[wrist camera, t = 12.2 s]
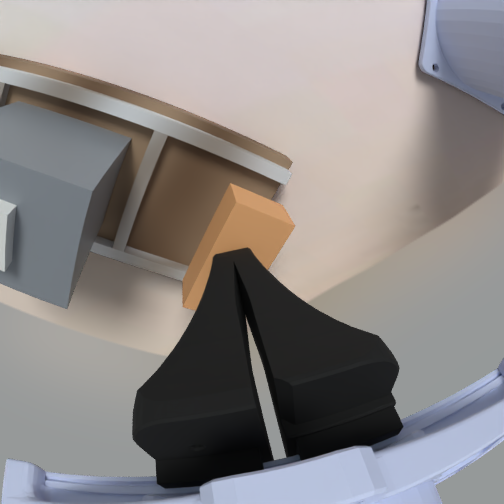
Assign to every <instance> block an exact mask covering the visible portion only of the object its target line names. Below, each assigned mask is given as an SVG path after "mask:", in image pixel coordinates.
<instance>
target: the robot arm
mask: <svg viewBox="0 0 504 504" xmlns="http://www.w3.org/2000/svg"><path fill="white" fill-rule="evenodd" d="M433 64H434V66H435V69H434V71H433V69H432V66H433ZM419 68H420V69H421V71H422V72H424V73H426V74H428V75H431V76H433V77H435V78H437V79H439V80H441V81H443V82H445V83H448V84H450V85H452V86H454V87H456V88H458V89H459V90H461V91H463V92H465V93H467V94H469V95H471V96H473V97H474V98H476V99H478V100H480V101H482V102H483V103H485V104H487V105H488V106H490V107H492V108H493V109H495V110H497V111H498V112H500V113H502V114H503V115H504V0H427V6H426V15H425V23H424V30H423V37H422V44H421V50H420V56H419ZM245 315H246V316H245ZM246 318H247V321H248V324H249V327H250V330H251V332H252V335H253V338H254V341H255V344H256V346H257V349H258V352H259V355H260V357H261V360H262V364H263V367H264V370H265V374H266V378H267V382H268V386H269V390H270V394H271V398H272V402H273V405H274V410H275V414H276V418H277V422H278V426H279V429H280V433H281V438H282V441H283V445H284V449H285V453H286V457H287V458H283V459H279V460H274V459H273V455H272V451H271V447H270V443H269V439H268V435H267V431H266V427H265V423H264V419H263V414H262V410H261V406H260V402H259V398H258V393H257V389H256V385H255V381H254V376H253V371H252V365H251V358H250V350H249V341H248V333H247V324H246ZM398 372H399V365H398V362H397V361H396V359H395V357H394V355H393V354H392V352H391V351H390V350H389V348H388V347H387V346H386V344H385V343H384V342H383V341H382V340H381V338H379V336H377V335H374V334H372V333H369V332H366V331H363V330H359V329H357V328H354V327H351V326H349V325H347V324H344V323H342V322H339V321H337V320H335V319H333V318H332V317H330V316H328V315H326V314H324V313H322V312H320V311H319V310H317V309H315V308H314V307H312V306H311V305H309V304H307V303H306V302H305V301H303V300H302V299H300V298H299V297H297V296H296V295H295V294H294V293H292V292H291V291H290V290H289V289H287V288H286V287H285V286H284V285H283V284H281V283H280V282H279V281H278V280H277V279H276V278H275V277H274V276H273V275H272V274H271V273H270V272H269V271H268V270H267V269H266V268H265V267H264V266H263V265H262V263H261V262H260V261H259V260H258V259H257V257H256V256H255V255H254V253H253V252H252V250H251V249H250V248H248V247H246V248H242V249H237V250H233V251H228V252H223V253H219V254H215V255H214V256H213V260H212V266H211V270H210V274H209V278H208V281H207V284H206V287H205V290H204V293H203V295H202V298H201V300H200V302H199V305H198V307H197V309H196V312H195V314H194V316H193V318H192V320H191V322H190V323H189V325H188V327H187V329H186V331H185V332H184V334H183V335H182V337H181V339H180V340H179V342H178V343H177V345H176V346H175V348H174V349H173V351H172V352H171V353H170V354H169V356H168V357H167V358H166V360H165V361H164V362H163V364H162V365H161V366H160V367H159V369H158V370H157V371H156V372H155V373H154V374H153V375H152V376H151V377H150V378H149V379H148V380H147V381H146V382H145V383H144V385H143V386H142V387H141V388H139V389H138V390H137V394H136V399H135V404H134V409H133V430H132V435H133V440H134V441H135V442H136V444H137V445H139V447H141V448H142V449H143V450H144V451H145V452H147V453H148V454H149V455H150V456H151V457H153V458H154V459H155V460H156V476H151V477H104V476H85V475H72V474H61V473H53V472H46V471H44V470H43V469H42V468H40V467H39V466H37V465H35V464H32V463H30V462H26V461H21V460H15V459H9V458H8V459H7V461H6V467H5V474H4V482H3V491H2V502H1V504H443V503H442V501H441V498H440V496H439V494H438V491H437V489H436V487H435V485H436V484H438V483H440V482H442V481H443V480H445V479H447V478H449V477H450V476H452V475H454V474H455V473H457V472H458V471H460V470H462V469H463V468H465V467H467V466H468V465H470V464H471V463H472V462H474V461H476V460H477V459H479V458H480V457H481V456H483V455H484V454H486V453H487V452H489V451H490V450H491V449H493V448H494V447H495V446H497V445H498V444H499V443H501V442H502V441H503V440H504V358H503V360H502V361H501V363H500V364H499V367H498V368H497V369H495V370H494V371H492V372H491V373H489V374H487V375H486V376H484V377H483V378H481V379H479V380H478V381H476V382H474V383H472V384H471V385H469V386H467V387H466V388H464V389H462V390H460V391H458V392H457V393H455V394H453V395H451V396H449V397H447V398H445V399H443V400H442V401H440V402H437V403H436V404H433V405H431V406H429V407H427V408H425V409H423V410H421V411H419V412H417V413H415V414H412V415H410V416H408V417H406V418H403V419H401V420H400V418H399V416H398V414H397V412H396V410H395V407H394V406H395V404H396V402H395V399H394V397H393V395H392V393H391V391H392V388H393V386H394V383H395V381H396V378H397V376H398Z"/></svg>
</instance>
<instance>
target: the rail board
mask: <svg viewBox="0 0 504 504" xmlns="http://www.w3.org/2000/svg"><path fill="white" fill-rule="evenodd" d="M18 101H20V102H24V103H27V104H31V105H34V106H37V107H41V108H44V109H47V110H50V111H53V112H56V113H60V114H63V115H66V116H69V117H72V118H75V119H78V120H81V121H84V122H87V123H90V124H93V125H96V126H99V127H101V128H104V129H107V130H110V131H113V132H116V133H118V134H121V135H124V136H127V137H129V138H132V139H131V141H130V144H129V146H128V149H127V152H126V154H125V157H124V160H123V162H122V165H121V168H120V171H119V174H118V176H117V179H116V182H115V185H114V188H113V191H112V194H111V197H110V200H109V204H108V207H107V210H106V213H105V217H104V220H103V223H102V226H101V228H100V230H99V232H98V234H97V236H96V239H95V241H94V243H93V245H92V248H91V250H90V252H93V253H96V254H99V255H102V256H105V257H108V258H111V259H114V260H117V261H120V262H123V263H126V264H129V265H132V266H135V267H139V268H142V269H145V270H148V271H151V272H154V273H157V274H161V275H164V276H167V277H170V278H174V279H177V280H180V281H183V278H184V276H185V274H186V272H187V269H188V267H189V265H190V263H191V261H192V259H193V257H194V255H195V253H196V251H197V249H198V246H199V244H200V242H201V240H202V238H203V236H204V234H205V232H206V230H207V228H208V226H209V224H210V222H211V220H212V218H213V216H214V214H215V212H216V210H217V208H218V206H219V204H220V202H221V200H222V198H223V196H224V194H225V192H226V190H227V188H228V186H229V185H230V183H231V184H234V185H236V186H239V187H241V188H244V189H246V190H248V191H251V192H253V193H255V194H258V195H260V196H262V197H265V198H267V199H269V200H271V199H272V197H273V196H274V194H275V192H276V191H277V189H278V187H279V185H280V184H281V183H282V184H284V185H286V184H287V182H288V180H289V179H290V177H291V175H292V173H291V172H290V171H289V168H290V166H291V165H292V163H293V162H292V161H291V160H290V159H289V158H288V157H287V156H285V155H283V154H281V153H279V152H277V151H275V150H273V149H271V148H269V147H267V146H265V145H263V144H261V143H258V142H256V141H254V140H252V139H250V138H248V137H246V136H243V135H241V134H239V133H237V132H235V131H232V130H230V129H228V128H226V127H223V126H221V125H219V124H216V123H214V122H212V121H209V120H207V119H205V118H202V117H200V116H197V115H195V114H193V113H190V112H188V111H185V110H183V109H180V108H178V107H175V106H173V105H170V104H167V103H165V102H162V101H159V100H157V99H154V98H151V97H149V96H146V95H143V94H140V93H138V92H135V91H132V90H129V89H126V88H123V87H120V86H117V85H114V84H111V83H108V82H105V81H102V80H99V79H95V78H92V77H89V76H86V75H82V74H79V73H75V72H72V71H68V70H65V69H61V68H57V67H53V66H50V65H46V64H42V63H38V62H33V61H29V60H25V59H20V58H16V57H11V56H6V55H1V54H0V107H3V106H6V105H9V104H11V103H14V102H18Z"/></svg>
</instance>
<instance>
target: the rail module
mask: <svg viewBox="0 0 504 504" xmlns="http://www.w3.org/2000/svg"><path fill="white" fill-rule="evenodd" d="M131 139H132V138H129V137H127V136H124V135H121V134H118V133H116V132H113V131H110V130H107V129H104V128H101V127H99V126H96V125H93V124H90V123H87V122H84V121H81V120H78V119H75V118H72V117H69V116H66V115H63V114H60V113H56V112H53V111H50V110H47V109H44V108H41V107H37V106H34V105H31V104H27V103H24V102H20V101H18V102H14V103H11V104H9V105H6V106H3V107H0V283H1V284H3V285H5V286H8V287H10V288H13V289H15V290H17V291H20V292H22V293H25V294H28V295H30V296H33V297H35V298H38V299H41V300H43V301H46V302H49V303H51V304H54V305H57V306H60V307H63V308H66V309H67V308H68V306H69V303H70V300H71V297H72V295H73V292H74V289H75V287H76V284H77V282H78V279H79V277H80V274H81V272H82V269H83V267H84V264H85V262H86V259H87V257H88V255H89V252H90V250H91V248H92V245H93V243H94V241H95V239H96V236H97V234H98V232H99V230H100V228H101V226H102V223H103V220H104V217H105V213H106V210H107V207H108V204H109V200H110V197H111V194H112V191H113V188H114V185H115V182H116V179H117V176H118V174H119V171H120V168H121V165H122V162H123V160H124V157H125V154H126V152H127V149H128V146H129V144H130V141H131Z"/></svg>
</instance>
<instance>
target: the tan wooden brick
mask: <svg viewBox="0 0 504 504" xmlns="http://www.w3.org/2000/svg"><path fill="white" fill-rule="evenodd" d="M294 227H295V225H294V223H293V222H292V220H291V218H290V217H289V215H288V213H287V212H286V210H285V208H284V207H283V205H281V204H279V203H276V202H274V201H272V200H269V199H267V198H265V197H262V196H260V195H258V194H255V193H253V192H251V191H248V190H246V189H244V188H241V187H239V186H236V185H234V184H231V183H230V185H229V186H228V188H227V190H226V192H225V194H224V196H223V198H222V200H221V202H220V204H219V206H218V208H217V210H216V212H215V214H214V216H213V218H212V220H211V222H210V224H209V226H208V228H207V230H206V232H205V234H204V236H203V238H202V240H201V242H200V244H199V246H198V249H197V251H196V253H195V255H194V257H193V259H192V261H191V263H190V265H189V267H188V269H187V272H186V274H185V276H184V278H183V307H185V308H188V309H192V310H196V309H197V307H198V305H199V302H200V300H201V298H202V295H203V293H204V290H205V287H206V284H207V281H208V278H209V274H210V270H211V266H212V260H213V256H214V255H215V254H219V253H223V252H228V251H233V250H237V249H242V248H246V247H248V248H250V249H251V250H252V252H253V253H254V255H255V256H256V257H257V259H258V260H259V261H260V262H261V263H262V265H263V266H264V267H265V268H266V269H267V270H268V269H269V267H270V266H271V264H272V262H273V261H274V259H275V258H276V256H277V254H278V253H279V251H280V250H281V248H282V247H283V245H284V243H285V242H286V240H287V239H288V237H289V235H290V234H291V232H292V231H293V229H294Z"/></svg>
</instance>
